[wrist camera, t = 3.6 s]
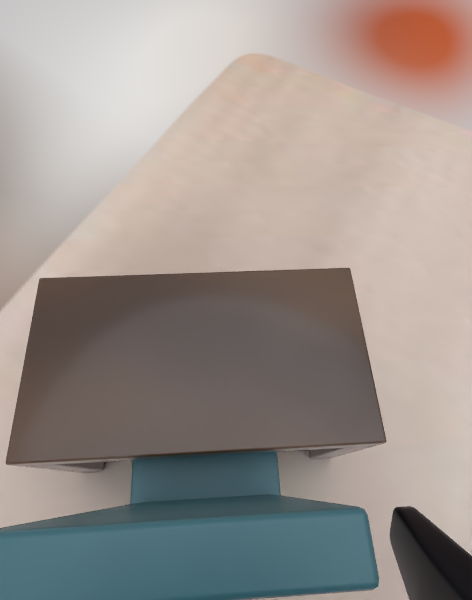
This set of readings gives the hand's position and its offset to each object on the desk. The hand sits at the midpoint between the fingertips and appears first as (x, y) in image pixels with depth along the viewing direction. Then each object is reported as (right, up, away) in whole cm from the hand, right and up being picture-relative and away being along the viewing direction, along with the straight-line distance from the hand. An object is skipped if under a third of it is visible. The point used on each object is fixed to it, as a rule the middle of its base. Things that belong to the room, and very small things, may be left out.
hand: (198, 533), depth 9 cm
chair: (0, -2, +9) cm, 9 cm away
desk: (-1, +1, +10) cm, 10 cm away
